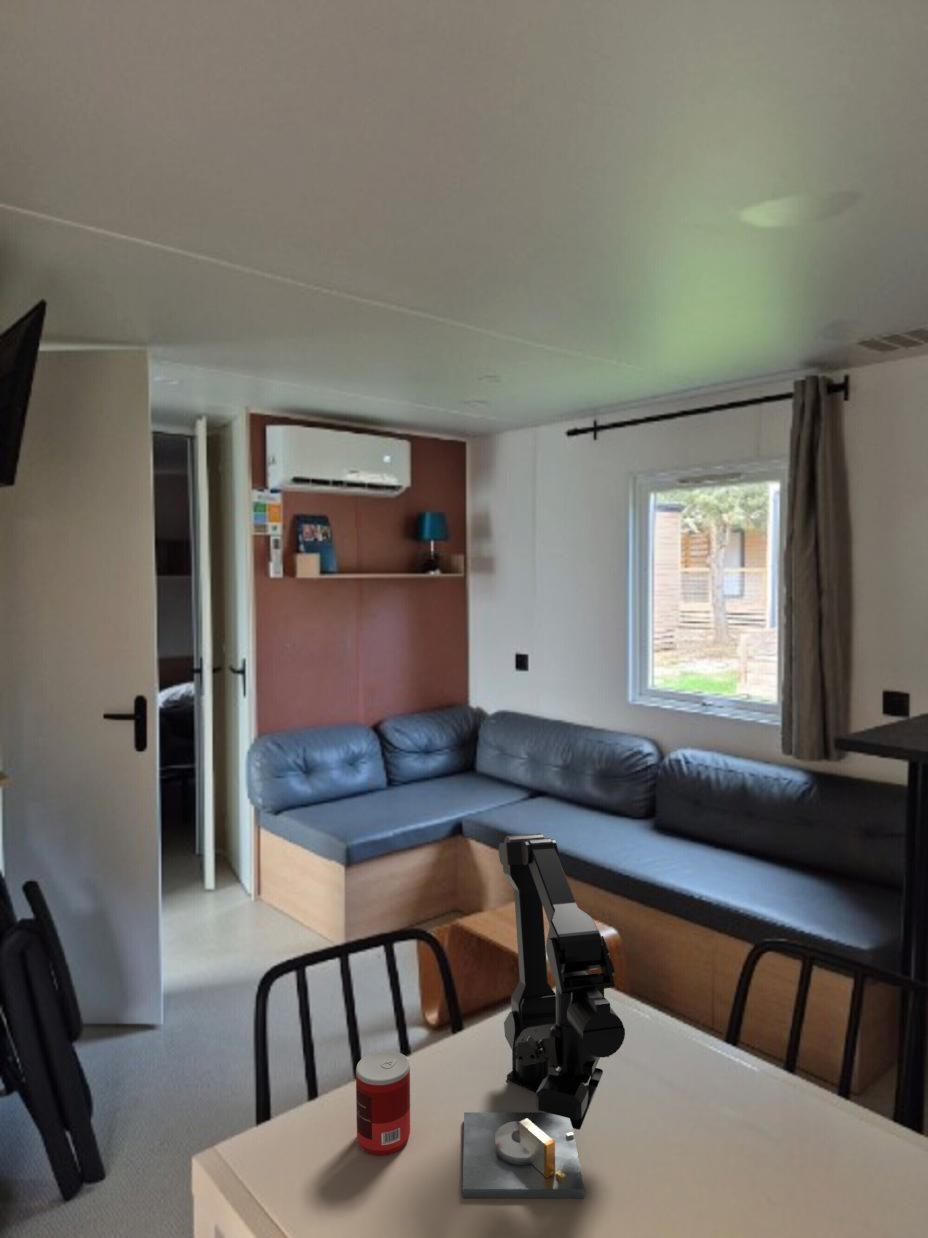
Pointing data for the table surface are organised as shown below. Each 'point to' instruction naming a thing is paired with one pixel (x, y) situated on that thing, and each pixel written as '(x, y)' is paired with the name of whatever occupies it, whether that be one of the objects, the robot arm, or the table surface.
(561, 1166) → the panel
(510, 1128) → the dial
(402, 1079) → the canned food
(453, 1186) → the table surface
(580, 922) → the robot arm
